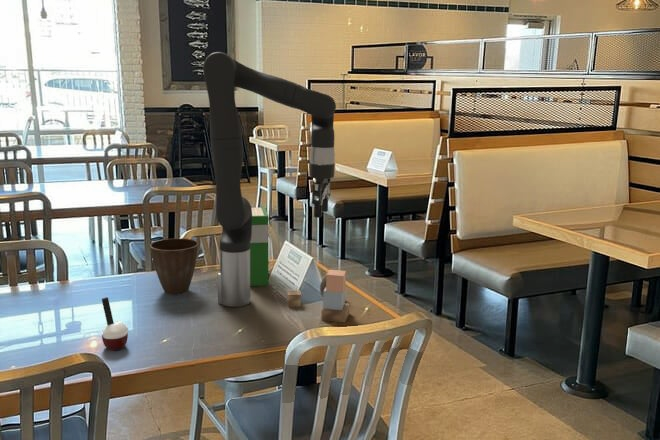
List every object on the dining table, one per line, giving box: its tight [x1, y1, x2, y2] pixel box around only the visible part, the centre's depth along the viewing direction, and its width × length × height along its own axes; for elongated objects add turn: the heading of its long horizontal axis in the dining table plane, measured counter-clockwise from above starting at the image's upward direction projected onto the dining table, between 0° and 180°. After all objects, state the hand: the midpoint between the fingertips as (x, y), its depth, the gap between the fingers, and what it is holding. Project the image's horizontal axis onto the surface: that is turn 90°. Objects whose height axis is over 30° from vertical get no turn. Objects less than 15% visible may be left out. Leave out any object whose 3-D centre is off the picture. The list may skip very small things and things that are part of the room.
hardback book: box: [250, 204, 269, 287], centre depth 216 cm, size 18×7×24 cm, turn 11°
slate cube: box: [322, 288, 346, 311], centre depth 183 cm, size 6×6×6 cm
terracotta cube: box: [325, 269, 347, 292], centre depth 182 cm, size 5×5×5 cm
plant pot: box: [149, 238, 199, 296], centre depth 201 cm, size 15×15×16 cm
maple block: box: [286, 289, 302, 308], centre depth 193 cm, size 4×4×4 cm
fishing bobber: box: [101, 297, 129, 351], centre depth 160 cm, size 10×6×12 cm, turn 22°
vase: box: [319, 275, 326, 298], centre depth 198 cm, size 7×7×9 cm
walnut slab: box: [321, 302, 350, 323], centre depth 184 cm, size 7×7×4 cm
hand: (321, 214), depth 191 cm, fingers open, 8 cm apart
